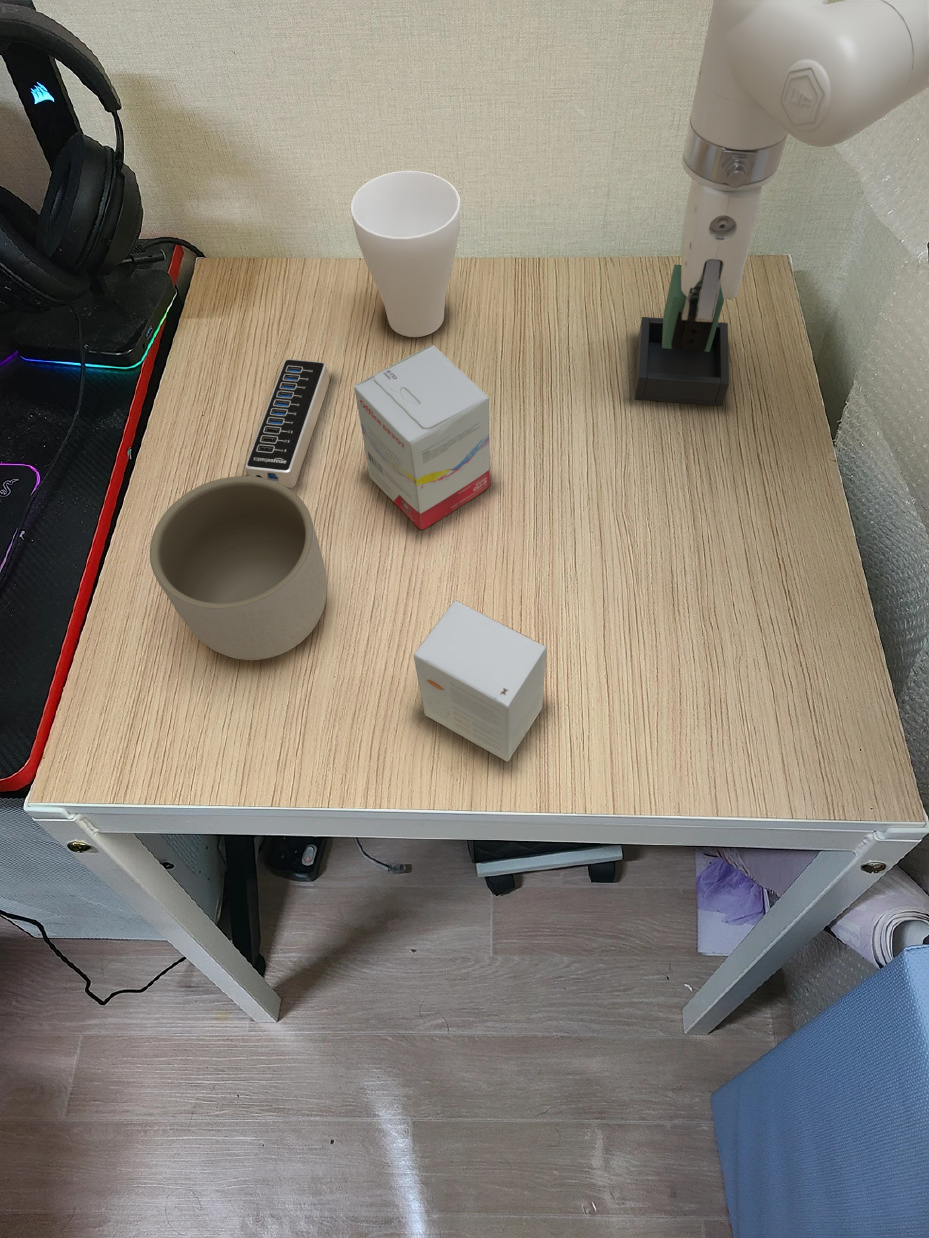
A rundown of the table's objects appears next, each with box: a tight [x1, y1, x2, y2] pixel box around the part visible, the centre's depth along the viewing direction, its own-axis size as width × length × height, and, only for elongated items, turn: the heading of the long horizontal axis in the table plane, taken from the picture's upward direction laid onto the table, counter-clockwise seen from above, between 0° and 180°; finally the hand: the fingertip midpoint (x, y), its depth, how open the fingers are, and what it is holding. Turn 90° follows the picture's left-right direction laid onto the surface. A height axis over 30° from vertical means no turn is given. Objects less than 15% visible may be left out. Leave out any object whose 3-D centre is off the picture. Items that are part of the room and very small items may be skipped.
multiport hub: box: [244, 358, 331, 489], centre depth 85 cm, size 4×14×2 cm, turn 171°
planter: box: [149, 475, 328, 661], centre depth 71 cm, size 12×12×11 cm
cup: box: [349, 170, 462, 338], centre depth 88 cm, size 10×10×14 cm
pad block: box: [662, 264, 725, 352], centre depth 82 cm, size 4×4×6 cm
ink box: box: [353, 344, 491, 530], centre depth 77 cm, size 9×9×12 cm
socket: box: [634, 316, 730, 407], centre depth 87 cm, size 9×9×3 cm
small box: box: [413, 599, 547, 763], centre depth 65 cm, size 8×6×10 cm
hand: (688, 327), depth 84 cm, fingers closed on pad block, 4 cm apart
